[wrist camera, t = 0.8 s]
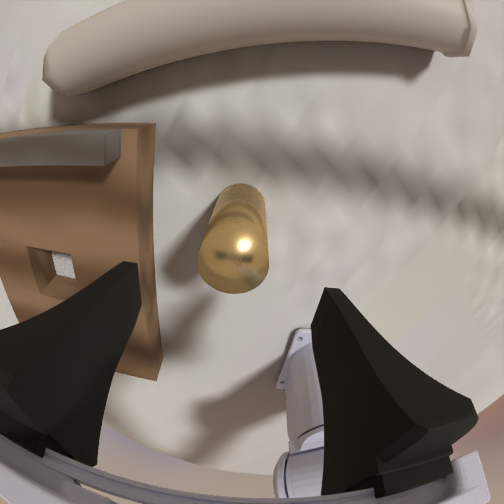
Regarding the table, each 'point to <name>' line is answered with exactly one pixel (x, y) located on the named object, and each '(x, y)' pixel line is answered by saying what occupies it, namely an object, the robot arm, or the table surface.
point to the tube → (241, 32)
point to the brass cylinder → (235, 241)
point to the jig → (80, 221)
